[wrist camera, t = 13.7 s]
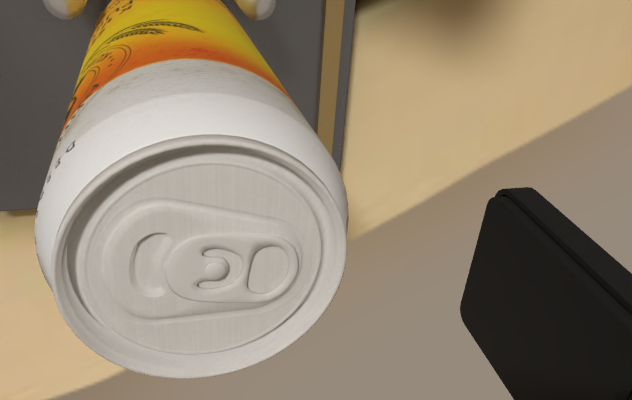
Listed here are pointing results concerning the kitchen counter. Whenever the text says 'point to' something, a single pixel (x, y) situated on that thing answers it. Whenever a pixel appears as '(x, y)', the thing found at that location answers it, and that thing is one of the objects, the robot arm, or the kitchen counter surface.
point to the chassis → (71, 46)
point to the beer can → (187, 198)
